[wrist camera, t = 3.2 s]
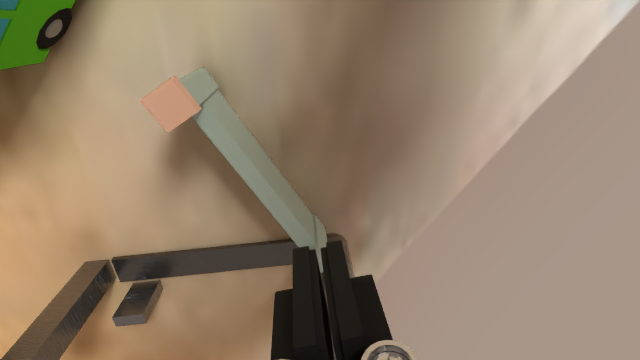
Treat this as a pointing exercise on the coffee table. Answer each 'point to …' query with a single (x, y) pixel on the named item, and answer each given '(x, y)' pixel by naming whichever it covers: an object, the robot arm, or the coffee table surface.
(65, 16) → the green toy car
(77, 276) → the gate posts
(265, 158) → the gate
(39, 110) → the coffee table surface
